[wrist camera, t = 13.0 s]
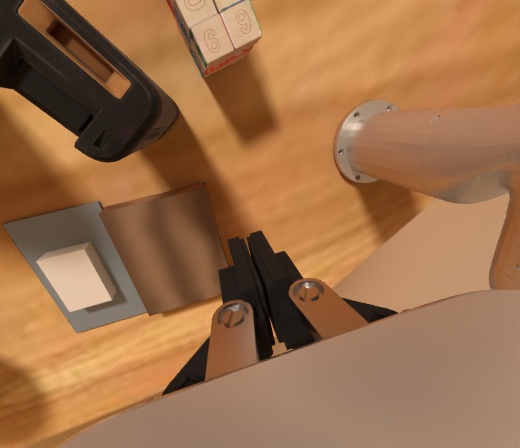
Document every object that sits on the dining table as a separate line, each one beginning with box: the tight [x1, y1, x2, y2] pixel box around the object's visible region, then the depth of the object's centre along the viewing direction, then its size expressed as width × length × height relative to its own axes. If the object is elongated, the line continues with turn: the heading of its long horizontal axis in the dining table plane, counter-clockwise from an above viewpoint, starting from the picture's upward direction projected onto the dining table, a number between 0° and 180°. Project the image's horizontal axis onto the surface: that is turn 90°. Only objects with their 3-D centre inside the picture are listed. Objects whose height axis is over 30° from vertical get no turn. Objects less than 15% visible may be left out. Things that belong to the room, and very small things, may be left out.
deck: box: [99, 183, 228, 316], centre depth 38 cm, size 14×18×3 cm
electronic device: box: [0, 0, 179, 163], centre depth 22 cm, size 9×6×20 cm, turn 45°
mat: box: [2, 201, 147, 333], centre depth 38 cm, size 12×20×1 cm, turn 11°
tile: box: [36, 241, 117, 312], centre depth 36 cm, size 6×9×2 cm, turn 11°
